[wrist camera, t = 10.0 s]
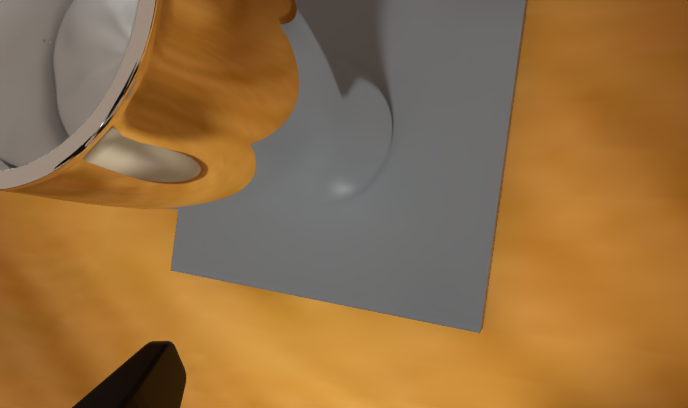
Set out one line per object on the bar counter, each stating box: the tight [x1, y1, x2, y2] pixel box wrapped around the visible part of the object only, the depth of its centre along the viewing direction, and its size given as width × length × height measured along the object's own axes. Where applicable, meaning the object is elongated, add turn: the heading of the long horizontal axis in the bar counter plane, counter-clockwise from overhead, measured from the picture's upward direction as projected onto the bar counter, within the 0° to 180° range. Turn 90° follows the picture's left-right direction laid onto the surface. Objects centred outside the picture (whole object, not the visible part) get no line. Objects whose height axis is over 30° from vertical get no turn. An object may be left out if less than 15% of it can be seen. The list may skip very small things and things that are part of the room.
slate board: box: [171, 0, 528, 333], centre depth 24 cm, size 14×14×1 cm
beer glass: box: [0, 0, 392, 209], centre depth 16 cm, size 7×7×15 cm
